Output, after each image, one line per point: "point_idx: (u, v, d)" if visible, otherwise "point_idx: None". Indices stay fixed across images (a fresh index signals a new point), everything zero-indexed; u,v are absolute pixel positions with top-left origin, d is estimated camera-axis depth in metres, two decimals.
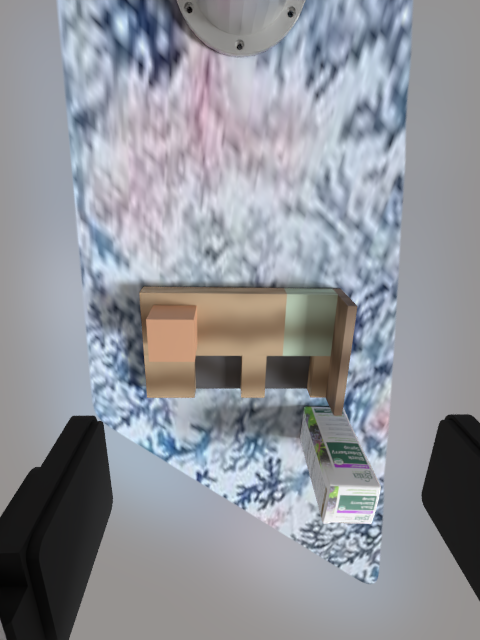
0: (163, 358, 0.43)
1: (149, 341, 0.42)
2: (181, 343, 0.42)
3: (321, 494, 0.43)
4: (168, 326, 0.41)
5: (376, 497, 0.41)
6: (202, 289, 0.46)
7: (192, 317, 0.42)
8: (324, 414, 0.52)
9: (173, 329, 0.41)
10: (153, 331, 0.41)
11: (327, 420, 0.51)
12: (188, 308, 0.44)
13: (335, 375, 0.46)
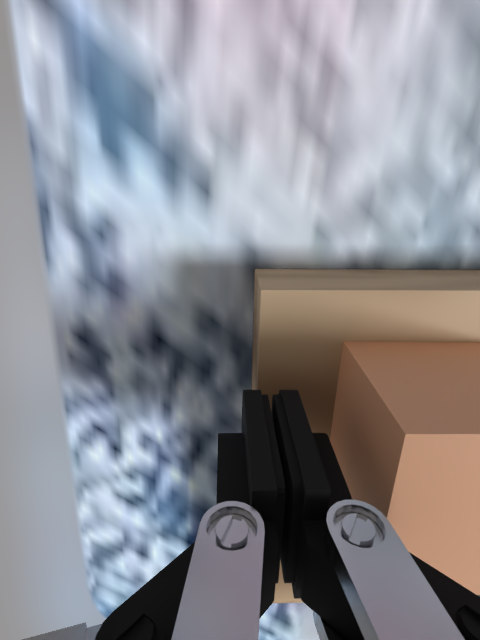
0: None
1: (393, 525, 0.09)
2: None
3: None
4: None
5: None
6: (467, 276, 0.13)
7: None
8: None
9: None
10: (425, 488, 0.08)
11: None
12: None
13: None
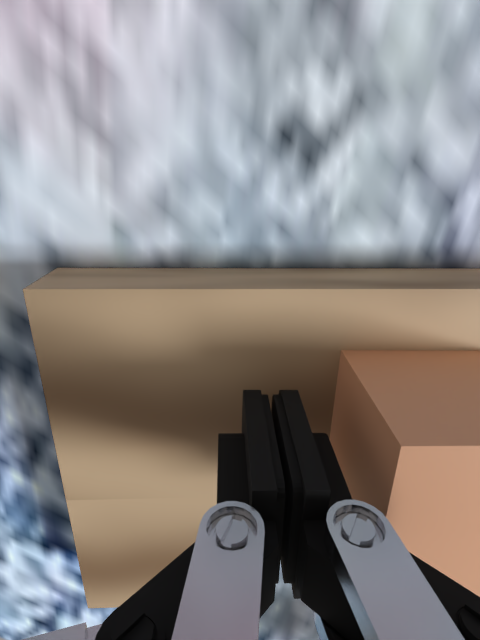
0: None
1: None
2: None
3: None
4: None
5: None
6: (265, 275, 0.13)
7: None
8: None
9: None
10: (421, 497, 0.09)
11: None
12: None
13: None
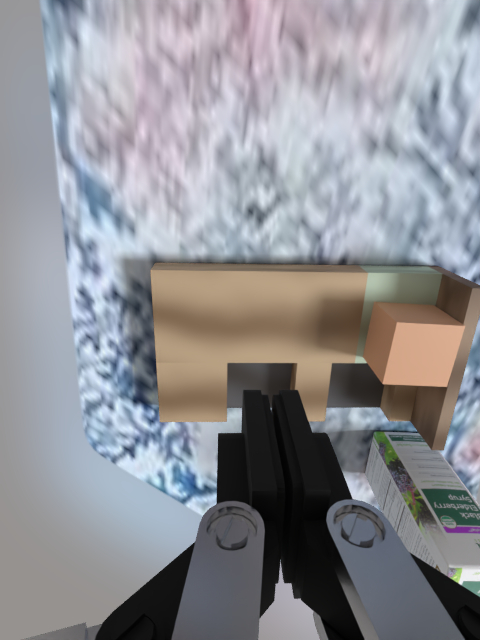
0: (404, 380, 0.29)
1: (392, 355, 0.28)
2: (437, 359, 0.29)
3: None
4: (426, 334, 0.28)
5: None
6: (242, 266, 0.32)
7: (457, 322, 0.28)
8: (404, 443, 0.37)
9: (431, 338, 0.28)
10: (402, 341, 0.28)
11: (412, 452, 0.36)
12: (429, 308, 0.31)
13: (435, 392, 0.32)
